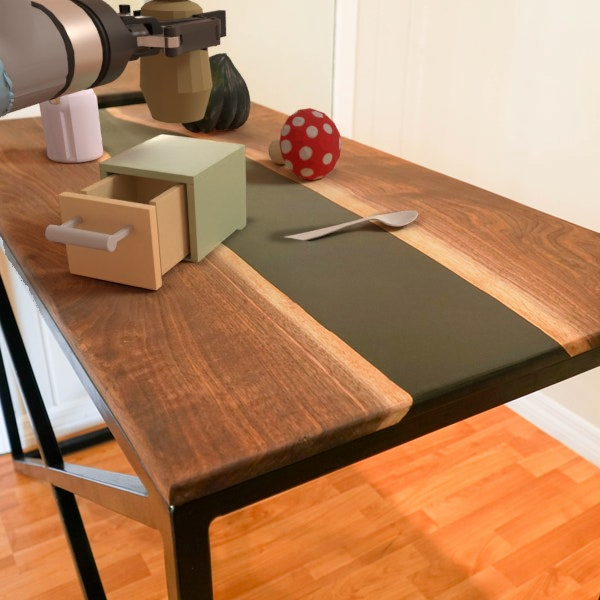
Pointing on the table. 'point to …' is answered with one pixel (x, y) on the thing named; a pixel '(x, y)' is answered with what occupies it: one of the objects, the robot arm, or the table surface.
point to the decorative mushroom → (307, 144)
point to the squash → (224, 98)
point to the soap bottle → (72, 128)
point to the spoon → (388, 219)
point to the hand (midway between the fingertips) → (194, 21)
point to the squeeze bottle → (175, 71)
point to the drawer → (124, 229)
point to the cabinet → (194, 182)
